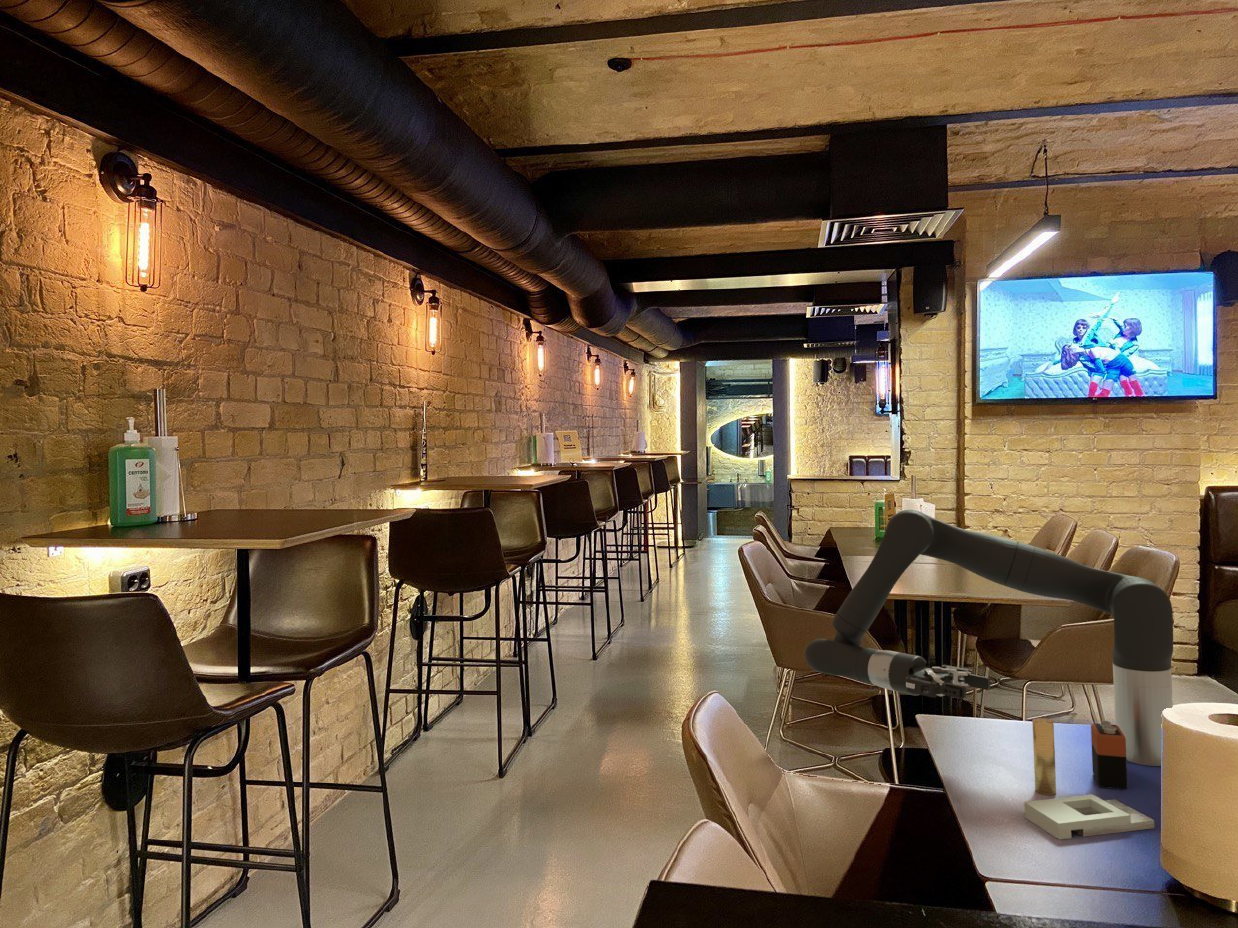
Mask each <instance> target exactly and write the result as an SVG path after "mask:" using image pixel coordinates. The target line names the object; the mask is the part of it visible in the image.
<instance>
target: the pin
mask: <svg viewBox="0 0 1238 928" xmlns="http://www.w3.org/2000/svg"><path fill="white" fill-rule="evenodd" d="M1031 723H1032V744H1033V746H1032V749H1033V765H1034V766H1033V769H1034V770H1033V771H1034V772H1033V773H1034V791H1035V792H1036V793H1038V794H1040V795H1044V796H1054V795H1057V781H1056V780H1057V777H1056V775H1057V774H1056V772H1057V771H1056V749H1055V748H1056V747H1055V732H1054V731H1055V728H1054V725H1055V723H1054V720H1052V719H1049V718H1043V717H1037V718H1033V719H1032V721H1031Z"/></svg>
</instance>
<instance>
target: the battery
mask: <svg viewBox="0 0 1238 928" xmlns="http://www.w3.org/2000/svg"><path fill="white" fill-rule="evenodd" d="M1090 738H1091V740H1090V741H1091V759H1092V760H1091V762H1092V774H1093V776H1094V779H1095V780H1096V782H1097V785H1098V786H1099V787H1100V788H1106V789H1115V790H1116V789H1119V790H1127V789H1128V765H1127V764H1128V761H1127V759H1126V738H1125V736H1124V735H1123V733H1122V731H1121V730H1120V728H1119V727H1118V726H1117V725H1115V724H1112V722H1111V721H1108V720H1100V723H1091V724H1090Z"/></svg>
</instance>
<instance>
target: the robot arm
mask: <svg viewBox="0 0 1238 928" xmlns="http://www.w3.org/2000/svg"><path fill="white" fill-rule="evenodd" d="M920 555H921V556H926V557H930V558H934V559H939V560H943V561H946V562H949V563H952V564H954V565H957V566H959V567H961V568H964V569H965V570H966V571H967V570H968V571H969V572H971V573H973V574H975V575H977V576H979V577H981V578H984V579H986V580H988V581H991V582H992V583H993V582H994V583H996V584H998V585H1001V586H1004V587H1007V588H1010V589H1014V590H1015V591H1018V592H1019V591H1020V592H1023V593H1027V594H1031V595H1035V596H1041V597H1047V598H1053V599H1060V600H1065V601H1066V600H1067V601H1070V602H1071V601H1072V602H1074V603H1075V602H1076V603H1079V604H1082V605H1085V606H1088V607H1091V608H1093V609H1095V610H1097V611H1101V612H1103V613H1106V614H1108V615H1109V616H1112V617H1113V636H1114V637H1113V639H1114V641H1113V647H1112V653H1111V655H1112V656H1111V657H1112V675H1113V677H1112V679H1113V698H1114V699H1113V701H1114V702H1113V703H1114V725H1117V726H1118V727H1119V728H1120V730H1121V731H1122V733H1123V735H1124V736H1125V738H1126V759H1127V762H1130V763H1134V764H1138V765H1143V766H1150V767H1151V766H1152V767H1153V766H1154V767H1162V766H1161V731H1160V730H1161V724H1162V717H1161V714H1162V711H1163V710H1164V709H1166V708H1172V707H1174V705H1173V704H1174V701H1173V700H1174V699H1173V697H1174V696H1173V677H1172V676H1173V675H1172V657H1173V654H1174V614H1173V613H1174V611H1173V606H1172V601H1171V599H1170V597H1169V595H1168V594H1167V593H1166V591H1165V590H1164V589H1162V588H1161V587H1160V586H1159V585H1157V584H1156V583H1154V582H1153V581H1151V580H1149V579H1147V578H1144V577H1138V576H1134V575H1128V574H1123V573H1118V572H1113V571H1109V570H1103V569H1099V568H1096V567H1092V566H1088V565H1085V564H1083V563H1082V564H1081V563H1079V562H1077V561H1074V560H1072V559H1070V558H1068V557H1065V556H1063V555H1060V554H1057V553H1055V552H1052V551H1049V550H1046V549H1044V548H1041V547H1037V546H1034V545H1031V544H1028V543H1025V542H1021V541H1018V540H1016V539H1015V540H1014V539H1011V538H1006V537H1002V536H998V535H994V534H990V533H985V532H978V531H974V530H968V529H965V528H961V527H958V526H955V525H952V524H949V523H947V522H945V521H942V520H939V519H937V518H935V517H932V516H931V515H928V514H926V513H923V512H921V511H919V510H916V509H904V510H901V511H899V512H897V513H895V514H894V515H893V516H891V518H890V519H889V520H888V522H887V524H886V528H885V531H884V535H883V537H882V539H881V542H880V544H879V547H878V549H877V550H876V553H875V554H874V557H873V559H872V560H871V562H870V563H869V565H868V567H867V568H866V570H865V571H864V573H863V574H862V575H861V577H860V578H859V580H858V581H857V582H856V584H855V585H854V586H853V588H852V589H851V591H850V592H849V593H848V595H847V597H846V598H845V599H844V601H843V603H842V604H841V606H840V607H839V608H838V610H837V612H836V613H835V615H834V616H833V620H832V627H833V628H834V630H835V631H836V633H835V635H834V639H833V640H832V639H826V638H816V639H814V640H812V641H811V642H809V643H808V644H807V646H806V648H805V649H804V650H805V651H804V658H805V661H806V663H807V666H809V667H810V668H811V670H813V671H815V672H818V673H821V674H825V675H829V676H834V677H839V676H840V677H844V678H849V679H851V680H855V681H858V682H862V683H864V684H869V685H873V686H877V687H879V688H882V689H885V690H889V691H893V692H898V693H902V694H906V695H911V696H914V697H915V696H925V697H929V698H932V699H933V698H936V697H944V696H946V697H951V698H955V699H959V700H964V699H966V698H967V688H966V687H971V688H976V689H980V690H986V691H987V690H990V689H991V679H990V678H989V676H988V677H987V676H983V675H978V674H973V669H970V668H962V667H957V666H952V665H947V664H942V665H941V667H940V666H932V667H930V666H929V665H928V662H927V661H926V660H925V658H924V657H922V656H920V655H915V654H908V653H904V652H900V651H899V652H898V651H893V650H883V649H882V650H881V649H876V648H872V647H866V646H861V645H862V642H863V639H864V636H865V635H866V633H867V632H868V630H869V629H870V627H871V625H872V624H873V623H874V621H875V619H876V618H877V617H878V614H879V613H880V611H881V610H882V608H883V606H884V605H885V603H886V601H887V599H888V598H889V595H890V593H891V592H892V590H893V588H894V586H896V583H897V582H898V580H899V579H900V578H901V577H902V575H903V574H904V573H905V571H906V570H907V569H908V568H909V566H910V565H912V563H913V562H915V560H916V559H917V558H918V557H919V556H920ZM963 676H964V677H963ZM951 681H952V683H951Z"/></svg>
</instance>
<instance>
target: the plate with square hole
mask: <svg viewBox="0 0 1238 928" xmlns="http://www.w3.org/2000/svg"><path fill="white" fill-rule="evenodd" d="M1023 806H1024V818H1025V819H1027V820H1029V821H1030V822H1032V823H1033V824H1035V825H1036V826H1037V827H1039V828H1040V829H1042V830H1044V832H1047V833H1049V834H1050V835H1051V836H1053V837H1054V838H1056V839H1058V840H1068V839H1072V831H1074V830H1077V829H1085V828H1093V827H1102V826H1110V825H1119V824H1127V823H1131V817H1130V815H1129V814H1127V813H1126V812H1124V811H1122V810H1120V809H1118V808H1116V807H1115V806H1113V805H1111V804H1109V803H1107V802H1105V801H1104V800H1103V799H1102V798H1100V797H1098V796H1096V795H1094V794H1091V793H1090V794H1084V795H1083V794H1082V795H1074V796H1064V797H1058V798H1057V797H1056V798H1048V799H1047V798H1046V799H1039V800H1038V799H1036V800H1029V801H1028V800H1027V801H1024V803H1023ZM1082 807H1093V808H1094V809H1096V810H1098V811H1100V812H1101V813H1102V814H1093V815H1092V814H1087V815H1083V814H1081V813H1080V812H1078V811H1076V810H1075V809H1074V808H1082Z"/></svg>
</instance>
